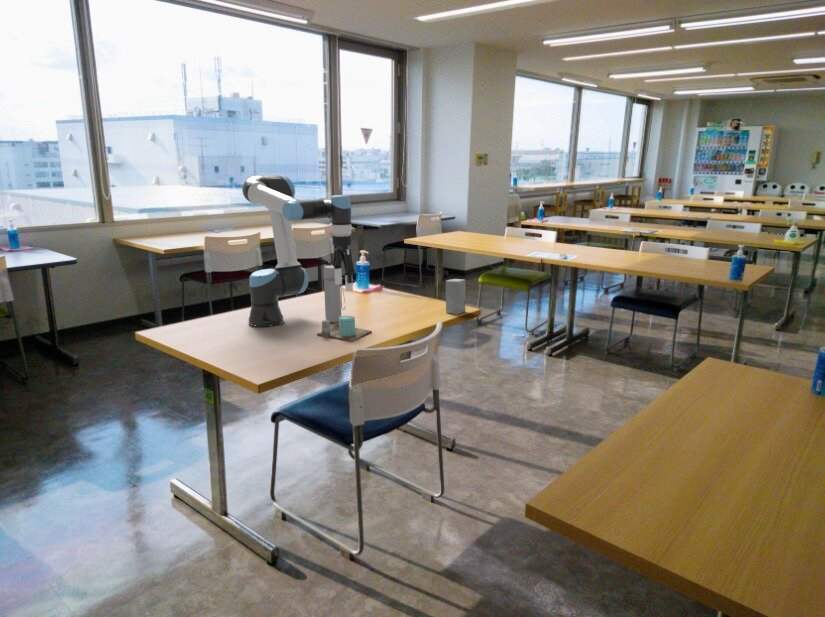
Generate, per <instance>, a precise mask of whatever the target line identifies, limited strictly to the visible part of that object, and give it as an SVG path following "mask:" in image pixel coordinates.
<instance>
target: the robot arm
mask: <svg viewBox="0 0 825 617" xmlns="http://www.w3.org/2000/svg"><path fill="white" fill-rule="evenodd" d="M241 189H242V190H241V191H242V195H243V197H244V198H245V200H246V201H248V202H249V203H251V204H254V205H261V206H264V207H265V208H266V209H267V210H268V211H269V216H270V222H271V228H272V234H273V240H274V241H273V242H274V248H275V253H276V260H277V264H276V265H275V269H274V268H265V269H260V270H259V269H258V270H256V271H253V272H252V273H251V274H250V275H249V284H248V286H249V291H250V292H249V293H250V303H251V307H250V311H249V317H248V324H249V323H250V324H252V325H256V326H269V327H271V326H270V325H275V326H277V325H276V324H279V323H281V322H283V323H284V316H283V314H282V311H281V308H280V306H279V298H284V297H289V296H293V295H295V296H296V295H299V294H301V293H304V292H305V291H306V290H307V288H308V286H309V274H308V272H307V270H306V268H303V267H302V264H301V263H300V262H299V261H298V257H297V252H296V247H295V240H294V233H293V225H292V222H299V221H309V220H310V221H311V220H320V219H330V220H331V234H332V235H333V236H332V245H333V255H332V256H333V258H332V265H333V266H334V268H335V285H337V284H340V285H341V284H342V285H343V276H342V263H343V268H344V271H345V272H344V277H345V278H344V280H345V292H353V291H354V289H353V288H354V287H353V286H354V285H353V275H355V268H354V262H353V257H352V249H349V248H348V247H349V246H352V243H353V242H352V240H353V239H352V238H353V237H352V235H351V234H352V229H353V226H352V204H351V203H352V202H351V197H350V195H348V194H347V195H346V194H344V195H343V194H334V195H331V197H330V199H327V198H317V199H309V200H300V199H298V198H296V197H295V195H296V188H295V185H294V183H293V181H292V180H291V179H290V178H289V177H288V176H287V175H282V174H281V175H280V174H270V175H269V174H268V175H253V176H250V177H248V178H247V179H246V180H245V181H244V183H243V185H242V188H241ZM281 324H282V323H281ZM279 325H280V324H279Z"/></svg>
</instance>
